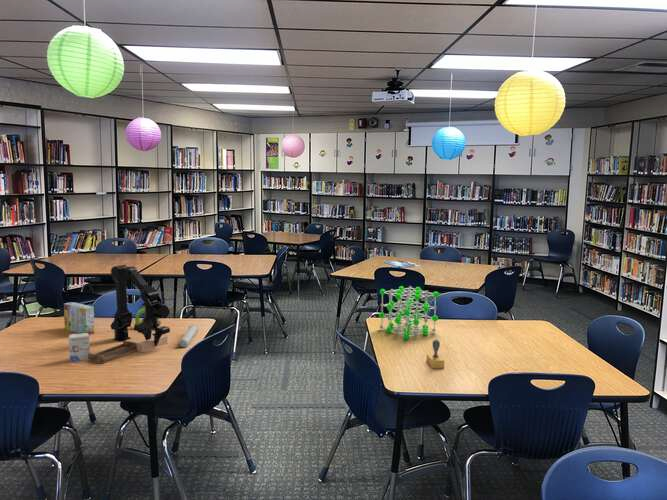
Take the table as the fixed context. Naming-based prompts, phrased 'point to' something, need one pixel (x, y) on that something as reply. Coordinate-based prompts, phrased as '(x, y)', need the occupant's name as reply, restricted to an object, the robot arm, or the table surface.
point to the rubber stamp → (435, 356)
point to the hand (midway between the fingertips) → (152, 345)
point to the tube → (188, 336)
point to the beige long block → (151, 344)
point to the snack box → (79, 318)
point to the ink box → (79, 346)
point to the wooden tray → (113, 352)
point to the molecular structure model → (408, 311)
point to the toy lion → (139, 315)
